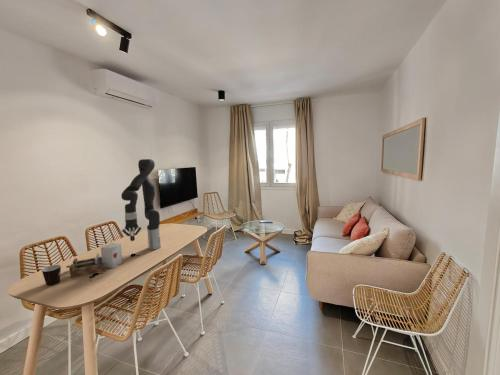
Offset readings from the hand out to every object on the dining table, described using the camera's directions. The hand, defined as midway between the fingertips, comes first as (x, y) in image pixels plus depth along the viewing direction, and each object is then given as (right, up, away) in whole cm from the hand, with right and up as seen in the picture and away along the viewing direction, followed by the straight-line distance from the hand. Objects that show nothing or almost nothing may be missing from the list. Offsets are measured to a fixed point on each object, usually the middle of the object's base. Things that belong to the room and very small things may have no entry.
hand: (132, 240), depth 162 cm
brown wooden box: (-23, -17, -10) cm, 30 cm away
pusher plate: (-27, -17, -12) cm, 34 cm away
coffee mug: (-34, -20, -29) cm, 49 cm away
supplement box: (-12, -17, -4) cm, 21 cm away
